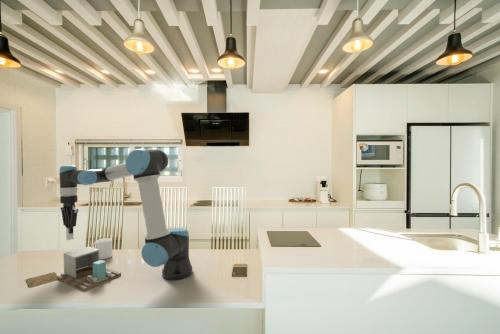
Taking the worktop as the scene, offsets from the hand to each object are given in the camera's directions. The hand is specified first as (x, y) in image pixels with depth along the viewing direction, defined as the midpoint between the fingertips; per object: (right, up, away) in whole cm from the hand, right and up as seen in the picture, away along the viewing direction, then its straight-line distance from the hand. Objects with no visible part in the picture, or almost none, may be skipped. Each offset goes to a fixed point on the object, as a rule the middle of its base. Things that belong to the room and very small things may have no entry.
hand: (70, 239), depth 141 cm
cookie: (-6, -17, -11) cm, 21 cm away
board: (+15, -17, -8) cm, 24 cm away
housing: (+10, -15, -5) cm, 18 cm away
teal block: (+23, -16, -12) cm, 30 cm away
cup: (+6, -16, +19) cm, 25 cm away
